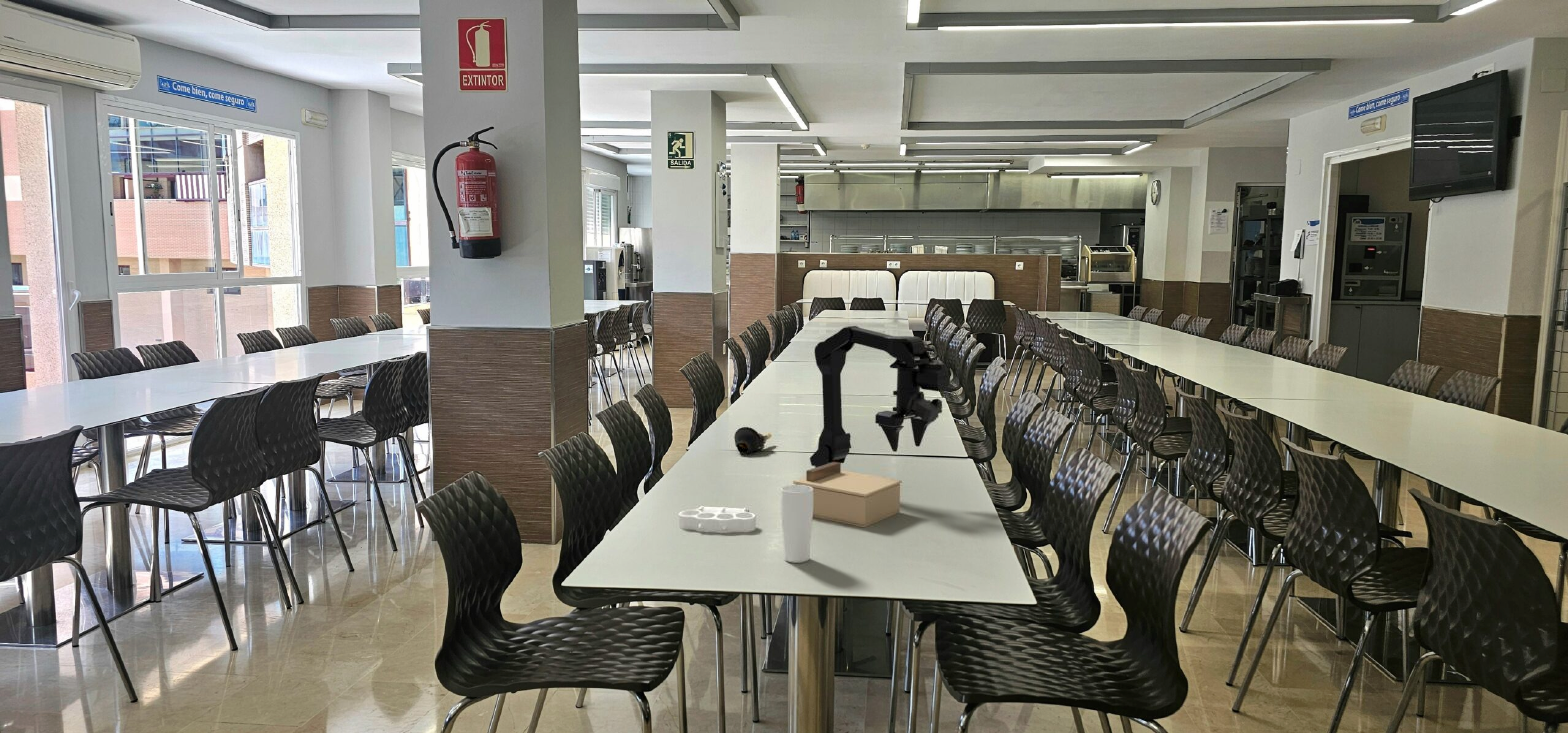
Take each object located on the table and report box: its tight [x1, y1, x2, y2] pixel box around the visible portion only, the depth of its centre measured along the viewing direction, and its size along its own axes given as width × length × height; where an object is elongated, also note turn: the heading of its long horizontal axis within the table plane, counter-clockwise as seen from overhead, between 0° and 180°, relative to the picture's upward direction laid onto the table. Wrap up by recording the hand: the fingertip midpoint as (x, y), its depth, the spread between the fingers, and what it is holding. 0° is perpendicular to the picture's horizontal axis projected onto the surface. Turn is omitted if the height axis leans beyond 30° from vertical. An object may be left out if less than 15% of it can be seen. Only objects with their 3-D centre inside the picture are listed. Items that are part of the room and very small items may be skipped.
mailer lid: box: [792, 462, 903, 497], centre depth 225 cm, size 21×17×3 cm
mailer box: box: [794, 483, 901, 528], centre depth 226 cm, size 20×16×7 cm
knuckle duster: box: [678, 505, 757, 534], centre depth 216 cm, size 3×18×15 cm
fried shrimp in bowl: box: [734, 426, 772, 455], centre depth 298 cm, size 9×11×18 cm
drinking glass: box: [780, 484, 814, 564], centre depth 190 cm, size 7×7×15 cm
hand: (906, 448), depth 233 cm, fingers open, 9 cm apart
